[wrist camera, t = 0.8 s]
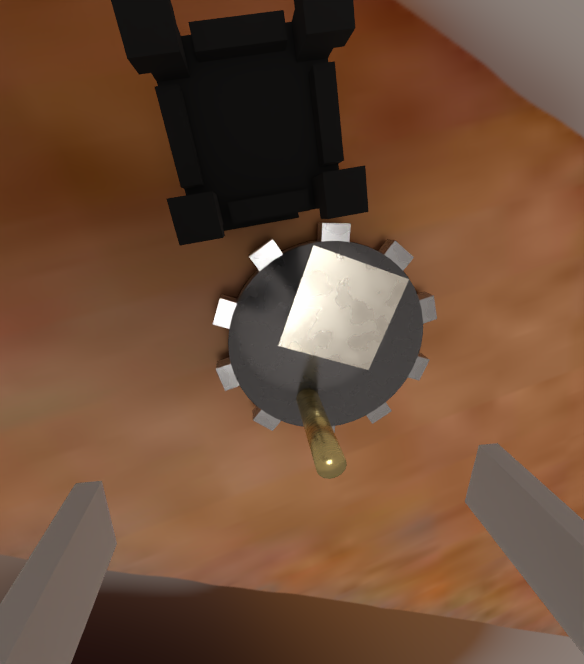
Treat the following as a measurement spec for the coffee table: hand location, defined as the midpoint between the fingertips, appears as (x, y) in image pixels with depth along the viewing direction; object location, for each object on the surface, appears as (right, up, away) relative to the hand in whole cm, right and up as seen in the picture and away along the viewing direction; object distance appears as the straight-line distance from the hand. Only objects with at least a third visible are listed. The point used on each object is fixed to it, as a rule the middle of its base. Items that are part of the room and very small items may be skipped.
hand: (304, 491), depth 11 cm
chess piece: (-4, +20, +18) cm, 27 cm away
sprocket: (+3, +5, +23) cm, 24 cm away
